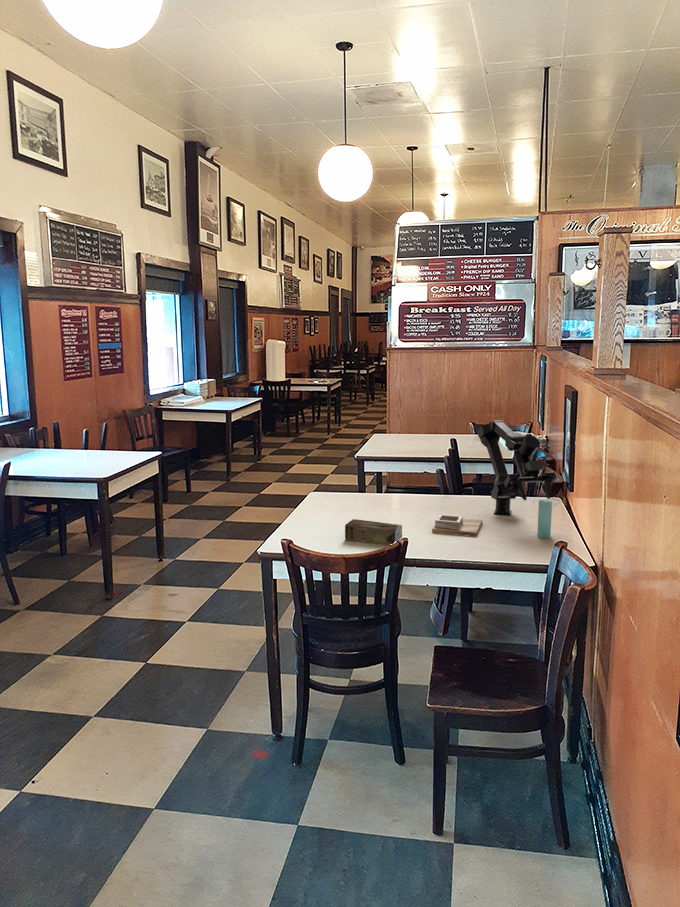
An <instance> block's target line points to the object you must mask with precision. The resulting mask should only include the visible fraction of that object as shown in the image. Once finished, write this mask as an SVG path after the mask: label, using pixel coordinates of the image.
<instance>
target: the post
mask: <svg viewBox="0 0 680 907" xmlns="http://www.w3.org/2000/svg"><path fill="white" fill-rule="evenodd" d="M552 509H553V501H552V500H550V499H539V500H538V510H537V511H538V512H537V515H538V516H537V517H538V518H537V531H536V532H537V536H538V537H537V538H540V539H543V538H547V539H550V538H551V534H552V533H551V530H552V513H553V510H552Z"/></svg>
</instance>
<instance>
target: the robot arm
mask: <svg viewBox="0 0 680 907" xmlns="http://www.w3.org/2000/svg"><path fill="white" fill-rule="evenodd" d="M477 437H478V438H479V441H480V443H481V444H482V445H483V446H484V447H485V448H486V449H487V452H488V454H489V459H490V462H491V466H492V468H493V472H494V476H495V481H494V484H493V488H492V490H491V491H490V497H491V499H493V500H495V509H494V512H493V514H494V515H500V516H501V515H503V516H511V513H512V510H511V499H513V500H515V499H516V498H517V495H518V496H519V497H520V498H521V499H522V500H524V501H527V495H526V492H525V490H524V487H523V483H540V485H541V489H542V491H543V493H544V495H545V497H546V498H547V500H550V499H551V486H553V484H554V483H555V481H556V479H557V478H558V477H557V476H558V475H557V473H556V472H555V471H546V472H545V471H544V473H542V475H540V472H541V470H544V469H545V468H547V466H548V463H547V461H546V459H545V458H540V459H537V460H532V456H533V455H534V454H535V453H537V452H536V451H537V450H538V448H539V447H540V446H541V445H540V444H541V442H540V439H538V438H537V437H536V436H533V435H532V433H525V435H524V434H521V433H517V432H515V431H513V430H512V428H510V427H509V426H508V425H506V423H505V422H504V421H503V420H501V419H500V420H499V419H497V420H491V421H490V422H488V423H487V424H484V425H482V426H481V427H480V428H479V429H478V430H477ZM500 439H502V440H503V441H504V442H505V443H504V445H505V447H506V448H507V450H508V451H510V452H514V453H513V456H512V458H511V459H512V460H511V461H513V462H515V464H516V467H517V469H516V472H517V473H508V470H507V466H506V463H505V460H504V458H503V454H502V451H501V448H500V445H499V442H500Z"/></svg>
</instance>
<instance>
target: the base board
mask: <svg viewBox="0 0 680 907" xmlns="http://www.w3.org/2000/svg"><path fill="white" fill-rule="evenodd" d="M482 525H483V519H477V518H465V517H464V516H463V515H453V514H438V515H437V516H436V518H435V520H434V525H433V527H432V529H431V530H432V531H431V533H432V534H440V533H444V534H443V535H452V534H457V535H456V536H464V535H469V536H468V537H475V536H476V537H477V536H478V534H479V532H480V530H481V528H482ZM480 527H481V528H480ZM479 529H480V530H479Z"/></svg>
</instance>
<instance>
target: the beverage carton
mask: <svg viewBox="0 0 680 907" xmlns="http://www.w3.org/2000/svg"><path fill="white" fill-rule="evenodd" d="M400 538H402V539H403V525H401V524H398V523H396V524H395V523H394V524H393V523H388V522H380V521H372V520H364V519H355V518H353V519H351V520H349V521H348V522H347V523H345V525H344V540H345V541H348V542H357V543H365V544H366V543H367V544H373V545H374V544H375V545H380V544H381V545H380V546H388V545H390V544H393V543H394V542H395V541H397V540H398V539H400ZM382 544H383V545H382Z"/></svg>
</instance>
